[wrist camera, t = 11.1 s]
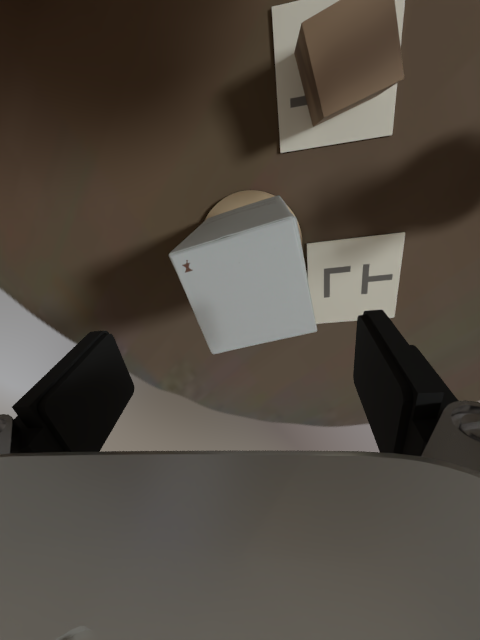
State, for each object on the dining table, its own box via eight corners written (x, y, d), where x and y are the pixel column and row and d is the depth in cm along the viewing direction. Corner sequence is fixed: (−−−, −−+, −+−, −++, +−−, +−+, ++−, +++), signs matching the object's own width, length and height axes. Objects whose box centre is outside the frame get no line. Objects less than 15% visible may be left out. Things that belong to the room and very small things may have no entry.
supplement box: (229, 287, 30) (207, 358, 19) (205, 216, 27) (163, 251, 16) (298, 270, 28) (319, 335, 17) (282, 192, 25) (295, 212, 14)
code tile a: (306, 243, 28) (307, 243, 27) (404, 231, 26) (405, 232, 26) (309, 323, 32) (309, 324, 32) (393, 316, 31) (394, 317, 30)
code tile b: (271, 8, 20) (271, 6, 20) (405, -23, 19) (407, -25, 19) (280, 153, 24) (280, 152, 24) (391, 135, 23) (392, 135, 23)
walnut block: (294, 53, 21) (301, 22, 17) (363, 14, 20) (390, -30, 15) (312, 127, 23) (324, 117, 19) (376, 96, 22) (404, 78, 17)
